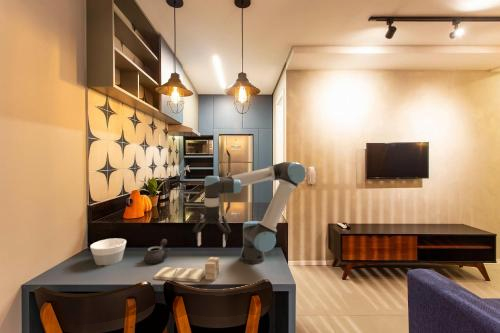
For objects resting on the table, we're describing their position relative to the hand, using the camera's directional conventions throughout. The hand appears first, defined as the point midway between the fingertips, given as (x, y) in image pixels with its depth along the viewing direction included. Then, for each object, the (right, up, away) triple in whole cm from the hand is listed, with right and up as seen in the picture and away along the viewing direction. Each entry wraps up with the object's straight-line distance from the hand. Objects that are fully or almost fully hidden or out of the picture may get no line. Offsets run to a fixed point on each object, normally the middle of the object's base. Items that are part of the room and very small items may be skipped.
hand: (211, 245), depth 134 cm
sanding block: (0, -16, +1) cm, 16 cm away
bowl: (-66, -16, +21) cm, 71 cm away
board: (-17, -16, +2) cm, 24 cm away
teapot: (-36, -16, +24) cm, 46 cm away
